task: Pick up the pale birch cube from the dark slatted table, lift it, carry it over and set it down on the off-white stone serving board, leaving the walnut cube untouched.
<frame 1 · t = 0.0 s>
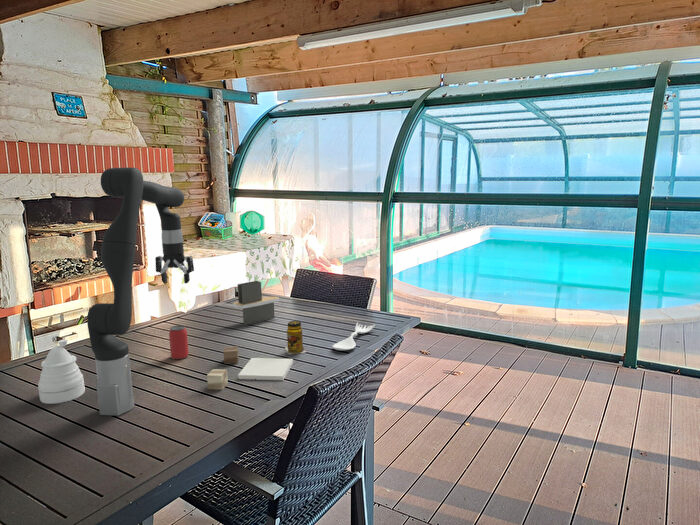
hand: (176, 282, 190), 29 cm above the table, fingers open, 8 cm apart
honey pot: (63, 395, 162), on the table
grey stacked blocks: (257, 322, 238), on the table
birch cube: (218, 386, 166), on the table
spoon: (353, 341, 209), on the table
beer can: (180, 357, 193), on the table
condiment: (295, 350, 198), on the table
stone board: (266, 370, 178), on the table
walnut cube: (231, 361, 188), on the table
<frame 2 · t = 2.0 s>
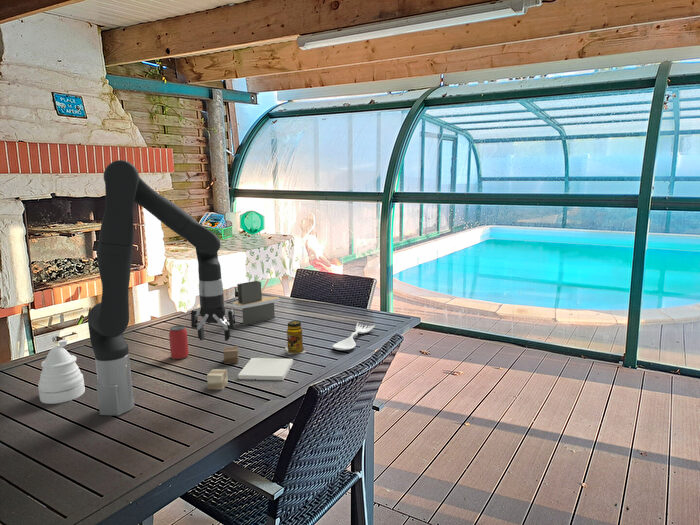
hand: (214, 339, 163), 16 cm above the table, fingers open, 8 cm apart
nothing on the table moved.
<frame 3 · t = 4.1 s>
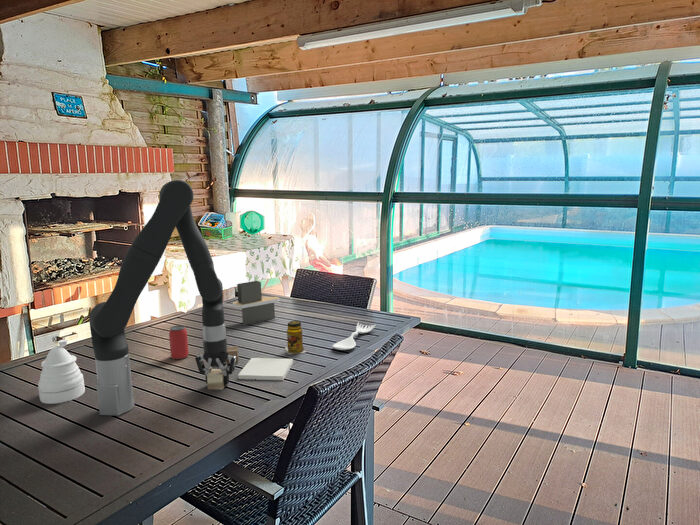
hand: (217, 384, 166), 0 cm above the table, fingers closed on birch cube, 5 cm apart
birch cube: (217, 386, 166), on the table, touching gripper
everything else where it was.
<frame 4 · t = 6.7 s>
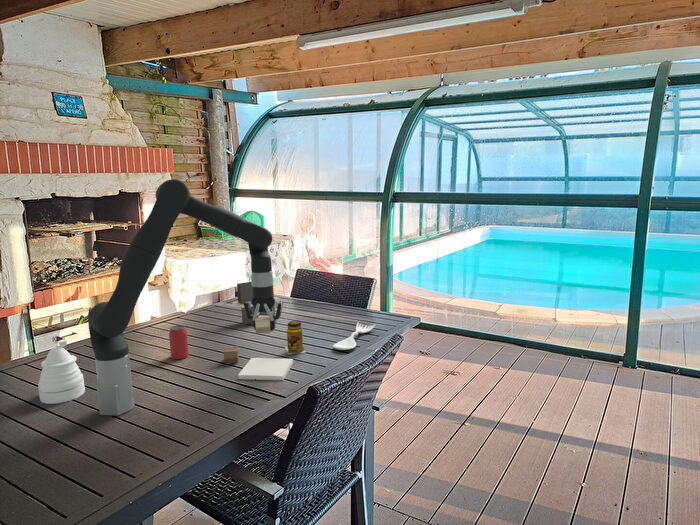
hand: (264, 329, 176), 15 cm above the table, fingers closed on birch cube, 5 cm apart
birch cube: (264, 331, 176), point 15 cm above the table, touching gripper
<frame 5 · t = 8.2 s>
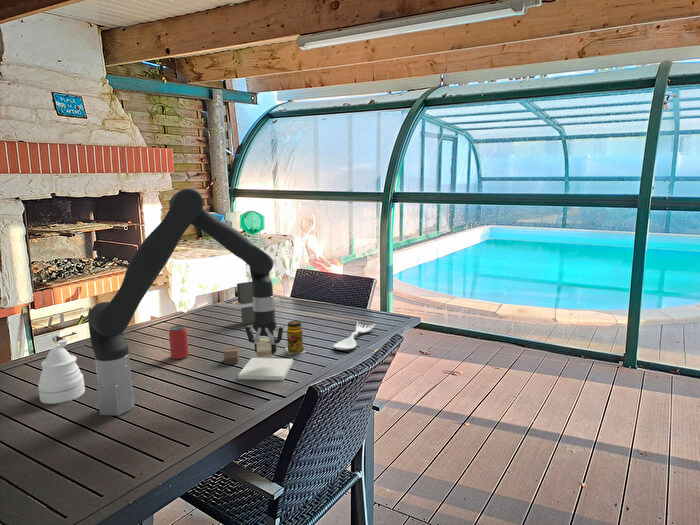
hand: (266, 353, 177), 7 cm above the table, fingers closed on birch cube, 5 cm apart
birch cube: (266, 354, 177), point 6 cm above the table, touching gripper
when the fingers open (3 cm above the table, at t = 9.4 s): birch cube drops 1 cm, resting on stone board.
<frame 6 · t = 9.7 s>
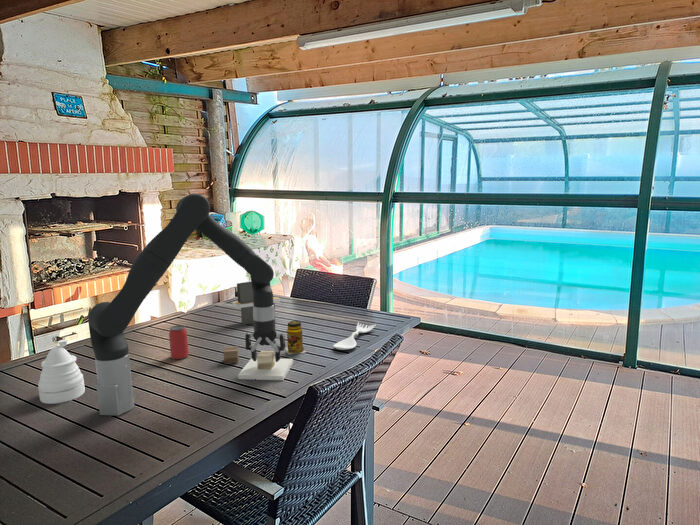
hand: (266, 360, 178), 4 cm above the table, fingers open, 8 cm apart
birch cube: (266, 366, 178), point 1 cm above the table, touching stone board
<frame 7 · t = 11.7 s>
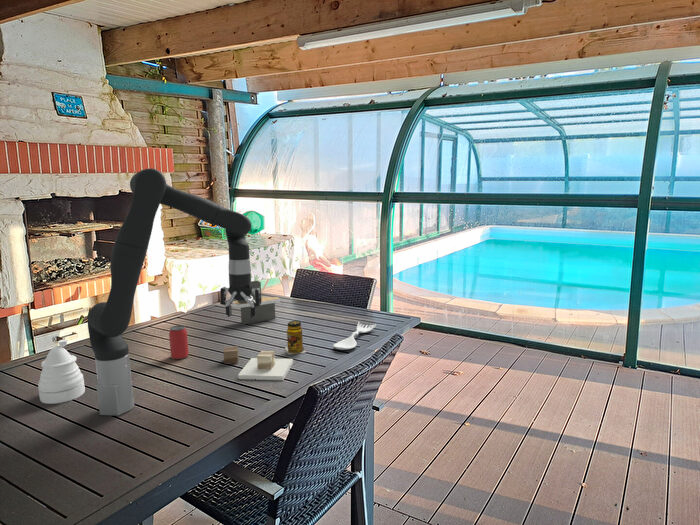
hand: (241, 316, 174), 21 cm above the table, fingers open, 8 cm apart
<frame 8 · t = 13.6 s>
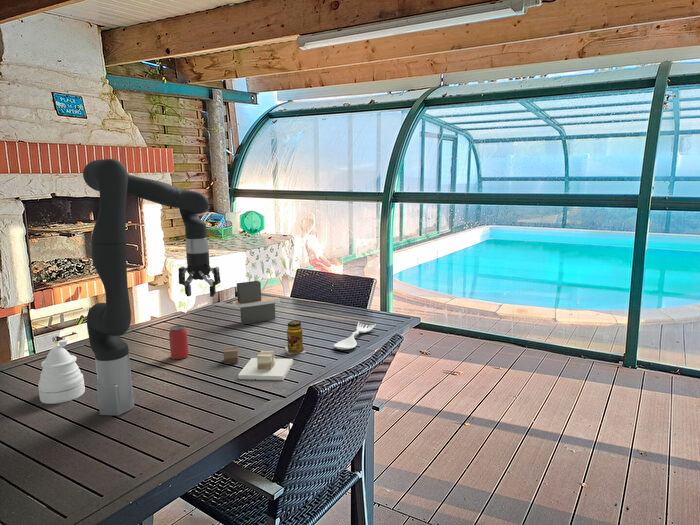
hand: (200, 296, 174), 28 cm above the table, fingers open, 8 cm apart
at the end: birch cube inside the target area on the stone board (0.0 cm from its centre), point 1.5 cm above the stone board's base; birch cube tilted 0°; the gripper is holding nothing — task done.
